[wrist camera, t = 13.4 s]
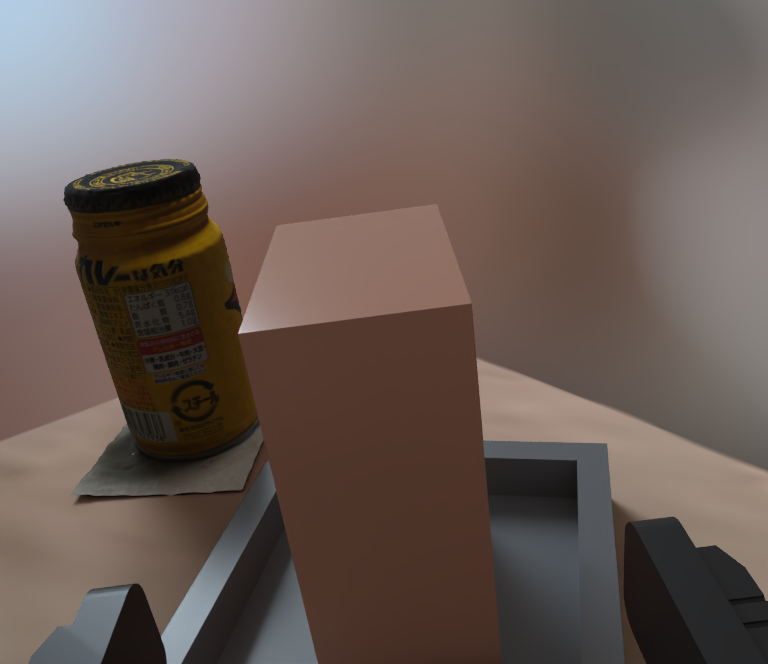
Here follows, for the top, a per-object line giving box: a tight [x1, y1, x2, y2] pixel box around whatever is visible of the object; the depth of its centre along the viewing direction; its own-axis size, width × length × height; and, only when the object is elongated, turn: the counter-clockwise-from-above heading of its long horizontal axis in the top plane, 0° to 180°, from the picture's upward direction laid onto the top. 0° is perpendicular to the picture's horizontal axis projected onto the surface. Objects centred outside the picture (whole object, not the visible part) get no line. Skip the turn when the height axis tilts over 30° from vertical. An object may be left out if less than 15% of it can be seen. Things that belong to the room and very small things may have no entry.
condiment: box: [64, 159, 264, 496], centre depth 30 cm, size 7×8×12 cm
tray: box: [161, 441, 625, 664], centre depth 21 cm, size 12×12×2 cm
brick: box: [238, 204, 502, 664], centre depth 19 cm, size 4×7×11 cm, turn 1°
